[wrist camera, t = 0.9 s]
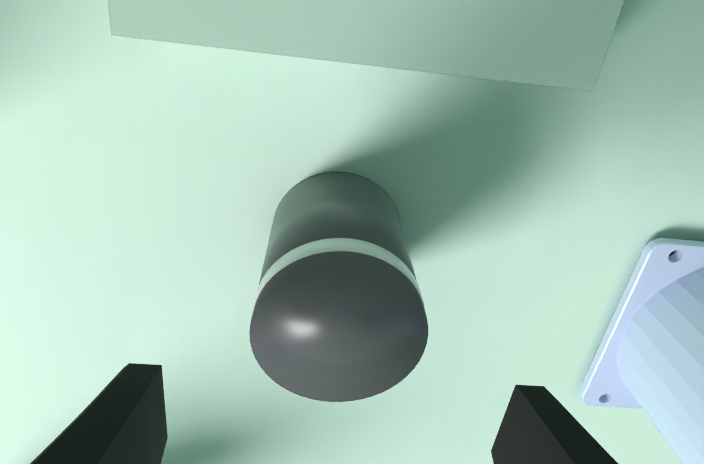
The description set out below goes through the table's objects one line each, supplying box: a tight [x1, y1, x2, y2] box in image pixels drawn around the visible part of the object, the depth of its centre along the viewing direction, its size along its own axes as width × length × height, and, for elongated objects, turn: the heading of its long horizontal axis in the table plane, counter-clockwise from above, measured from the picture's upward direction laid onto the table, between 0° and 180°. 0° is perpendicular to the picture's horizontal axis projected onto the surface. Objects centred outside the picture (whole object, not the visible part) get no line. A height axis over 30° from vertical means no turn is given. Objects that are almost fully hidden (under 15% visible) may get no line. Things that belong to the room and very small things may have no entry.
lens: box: [250, 172, 428, 402], centre depth 15 cm, size 4×4×6 cm
